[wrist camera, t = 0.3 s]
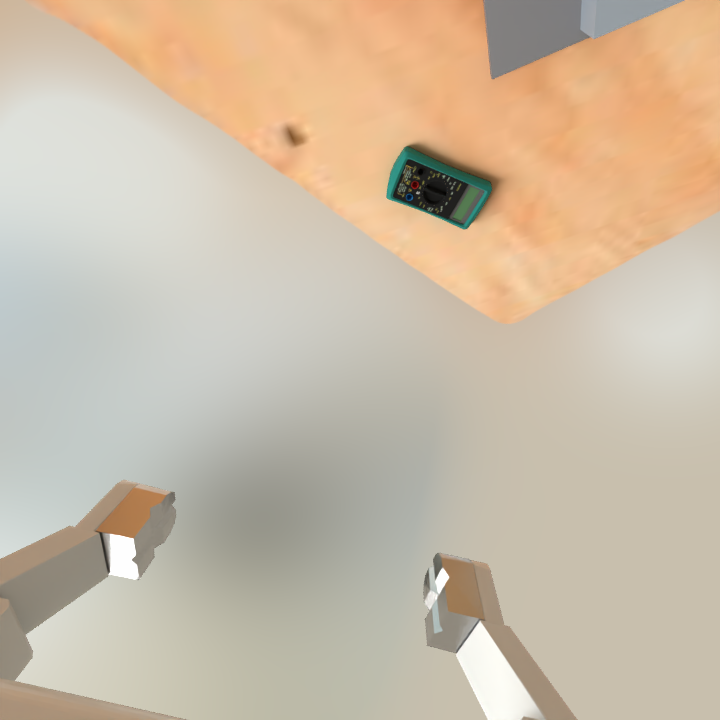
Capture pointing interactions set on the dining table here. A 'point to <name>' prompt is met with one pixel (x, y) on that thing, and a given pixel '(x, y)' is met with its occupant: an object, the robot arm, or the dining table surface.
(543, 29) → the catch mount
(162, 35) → the dining table surface
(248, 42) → the dining table surface
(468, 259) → the dining table surface
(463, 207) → the digital multimeter
